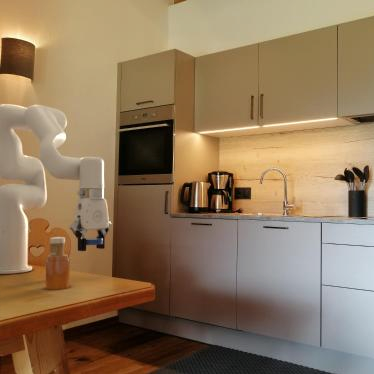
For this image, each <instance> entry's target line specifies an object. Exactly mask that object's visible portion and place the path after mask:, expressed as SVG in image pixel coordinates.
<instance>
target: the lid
mask: <svg viewBox="0 0 374 374" xmlns="http://www.w3.org/2000/svg"><path fill="white" fill-rule="evenodd" d="M85 238H86V246H96V245H99V244H103V238H96V237H85Z"/></svg>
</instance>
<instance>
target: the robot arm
mask: <svg viewBox="0 0 374 374" xmlns="http://www.w3.org/2000/svg"><path fill="white" fill-rule="evenodd" d="M67 125H68V119H67V116H66V114H65V113H64V112H63V111H62V110H60V109H58V108H55V107H50V106H46V105H43V104H33V105H29V106H27V107H25V106H21V105H16V104H12V103H11V104H10V103H2V104H0V178H1V179H2V180H6V181H13V182H15V181H16V182H24V183H5V184H2V185H0V275H10V274H13V275H14V274H22V273H27V272H30V271H32V270H33V266H32V265H28V261H29V260H28V259H29V256H28V255H29V220H28V217H27V215H26V214H25V212H24V211H25V210H27V211H28V210H30V211H31V210H39V209H42V208H43V207H44V206H45V205H46V203H47V199H48V192H47V183H46V172H45V170H46V171H47V172H48V174H49V175H51V177H53V178H54V179H58V180H71V181H79V187H78V189H79V190H77V192H76V194H77V195H78V196H79V198H78V199H77V201H76V202H77V204H76V208H75V218H74V221H73V222H72V223H71V224H70V225H69V229H70V231H71V232H72V233H73V235H74V236H75V239H77V251H78V252H86V251H87V245H86V238H87V237H86V236H87V232H88V231H94V230H95V231H96V234H97V236H96V237H95V238H103V244H99V245H95V246H96V249H98V250H105V248H106V246H105V245H106V243H105V242H106V241H105V240H106V239H105V237H107V234H108V232H109V231H110V229H111V227H112V223H111V221H109V209H108V202H107V198H105V160H104V158H103V157H99V156H83V157H75V156H68V155H67V156H66V155H62V154H61V153H60V151H59V150H58V148H59V147H61V146H62V145H63V144H64V143H65V141H66V139H67V135H66V132H65V131H64V130H65V129H66V127H67ZM15 130H19V131H24V132H30V133H33V134H34V135H35V137H36V138H37V140H38V141H39V143H40V145H39V158H38V157H35V156H29V155H25V154H24V151H23V143H22V141H21V138H20V137H19V135H18V133H16V131H15Z"/></svg>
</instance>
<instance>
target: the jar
mask: <svg viewBox="0 0 374 374" xmlns="http://www.w3.org/2000/svg"><path fill="white" fill-rule="evenodd" d="M46 258H47V260H45V289H46V290H50V291H51V290H52V291H53V290H54V291H55V290H57V291H58V290H64V289H65V290H66V289H68V288H70V278H71V277H70V275H71V272H70V271H71V270H70V269H71V261H70V260H71V259H69V254H66V253H64V254H54V255H50V254H48V255H47V257H46Z"/></svg>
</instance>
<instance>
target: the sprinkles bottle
mask: <svg viewBox="0 0 374 374" xmlns="http://www.w3.org/2000/svg"><path fill="white" fill-rule="evenodd" d="M65 244H66V237H64V236H53V237H50V238H49V245H50V246H49V255H54V254H65Z"/></svg>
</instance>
